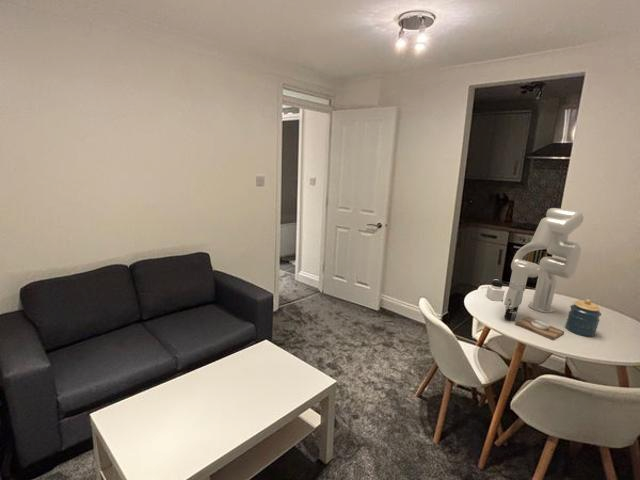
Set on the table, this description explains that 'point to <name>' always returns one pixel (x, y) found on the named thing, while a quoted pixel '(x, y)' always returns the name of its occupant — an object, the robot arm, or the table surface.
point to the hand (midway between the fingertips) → (510, 317)
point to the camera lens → (513, 315)
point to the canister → (583, 318)
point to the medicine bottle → (495, 290)
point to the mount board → (541, 332)
